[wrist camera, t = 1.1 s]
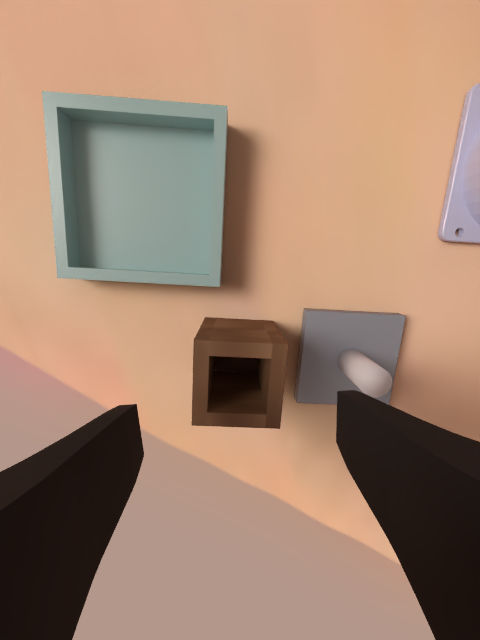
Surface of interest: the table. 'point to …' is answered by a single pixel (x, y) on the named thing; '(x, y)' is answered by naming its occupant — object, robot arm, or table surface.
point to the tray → (136, 188)
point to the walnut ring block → (238, 374)
